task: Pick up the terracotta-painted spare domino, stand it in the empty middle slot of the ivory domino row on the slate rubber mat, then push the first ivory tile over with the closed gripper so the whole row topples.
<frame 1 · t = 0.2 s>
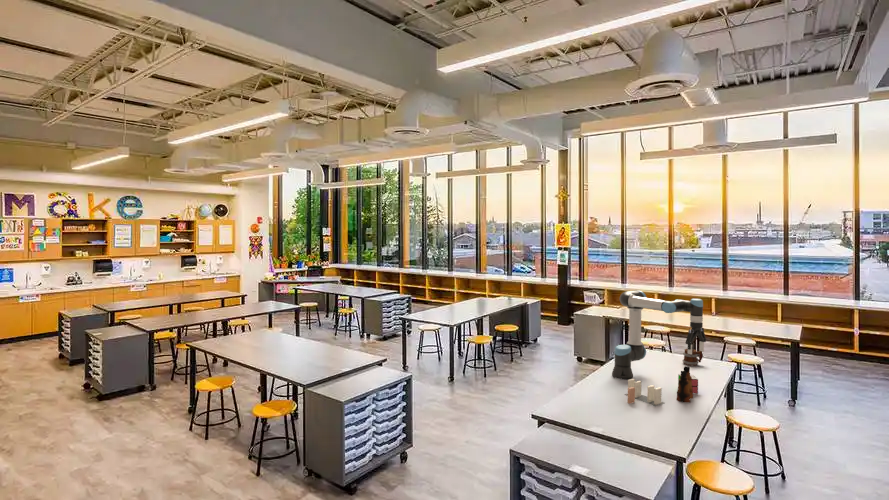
hand: (695, 352, 321), 28 cm above the table, fingers open, 13 cm apart
mug: (692, 364, 389), on the table
mat: (644, 399, 311), on the table
domino 2: (637, 396, 315), resting on mat
domino gap: (631, 403, 304), on the table
puzzle cube: (687, 391, 327), on the table
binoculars: (684, 399, 312), on the table
domino 1: (631, 394, 319), resting on mat
domino 4: (650, 401, 306), resting on mat
domino 5: (657, 403, 302), resting on mat
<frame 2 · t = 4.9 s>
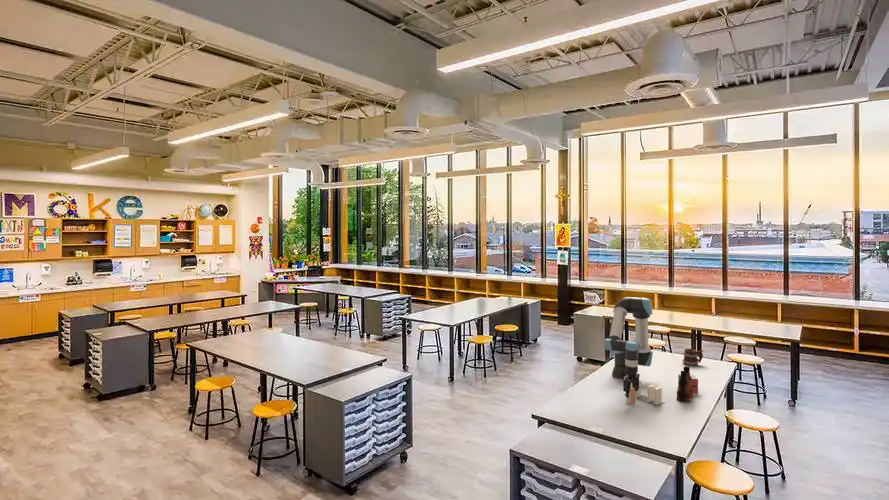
hand: (631, 401, 304), 1 cm above the table, fingers closed on domino gap, 5 cm apart
domino gap: (631, 403, 304), on the table, touching gripper
everything else where it was.
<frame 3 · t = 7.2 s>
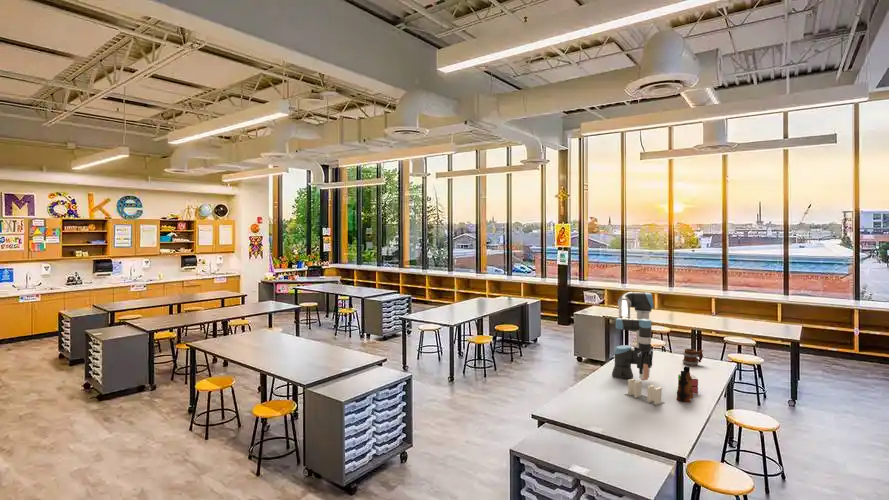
hand: (644, 377, 310), 14 cm above the table, fingers closed on domino gap, 5 cm apart
domino gap: (644, 379, 310), point 13 cm above the table, touching gripper
everything else where it was.
when the fingers open (2 cm above the table, at t = 9.6 s): domino gap stays where it is, resting on mat.
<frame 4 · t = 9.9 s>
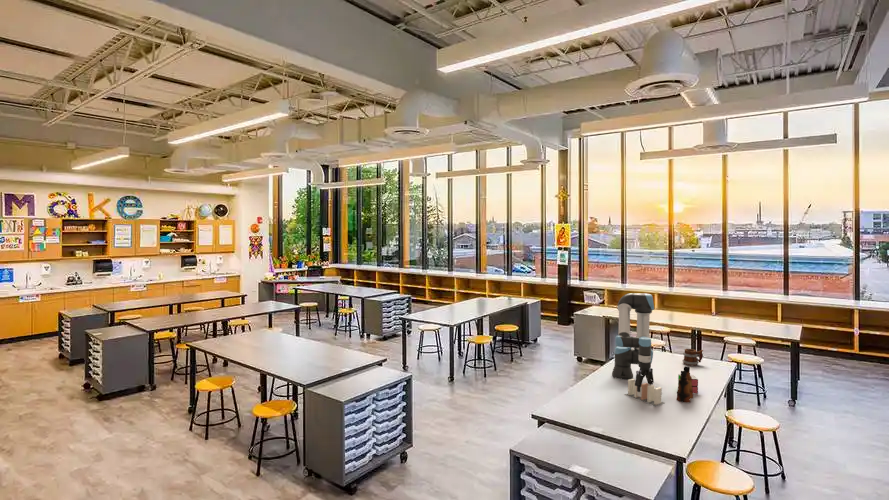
hand: (644, 394, 311), 3 cm above the table, fingers open, 9 cm apart
domino gap: (644, 398, 311), resting on mat
everything else where it was.
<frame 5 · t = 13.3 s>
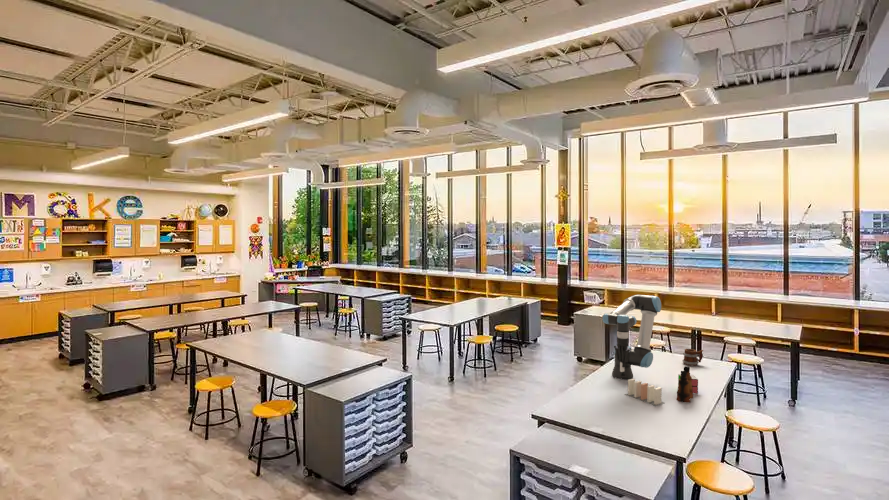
hand: (622, 371, 325), 14 cm above the table, fingers closed
nothing on the table moved.
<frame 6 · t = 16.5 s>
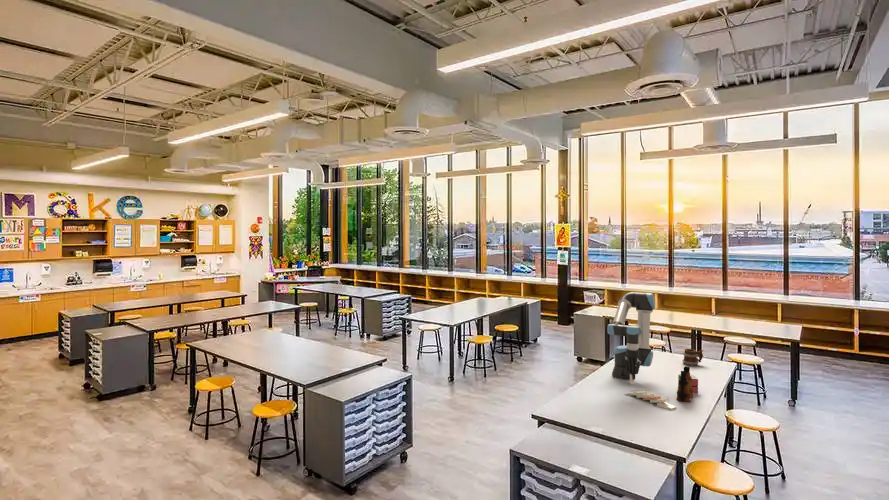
hand: (632, 383, 319), 8 cm above the table, fingers closed
domino 2: (638, 395, 314), point 1 cm above the table, tilted 71°, touching domino 1, domino gap
domino gap: (645, 398, 310), point 1 cm above the table, tilted 72°, touching domino 2, domino 4, mat
domino 1: (632, 393, 318), point 1 cm above the table, tilted 72°, touching domino 2, mat
domino 4: (652, 400, 305), point 1 cm above the table, tilted 72°, touching domino 5, domino gap
domino 5: (659, 402, 301), point 1 cm above the table, tilted 93°, touching domino 4, mat
everything else where it was.
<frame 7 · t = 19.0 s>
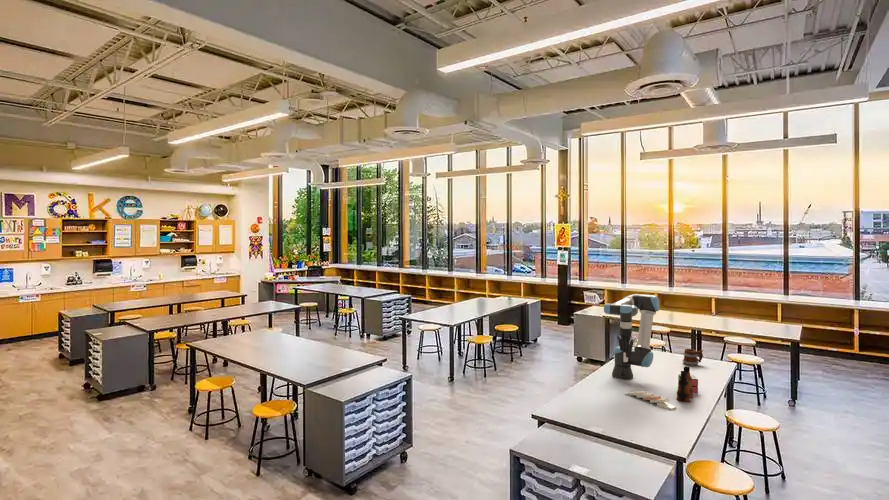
hand: (625, 361, 323), 21 cm above the table, fingers closed
domino 4: (652, 400, 305), point 1 cm above the table, tilted 72°, touching domino 5, domino gap, mat
everything else where it was.
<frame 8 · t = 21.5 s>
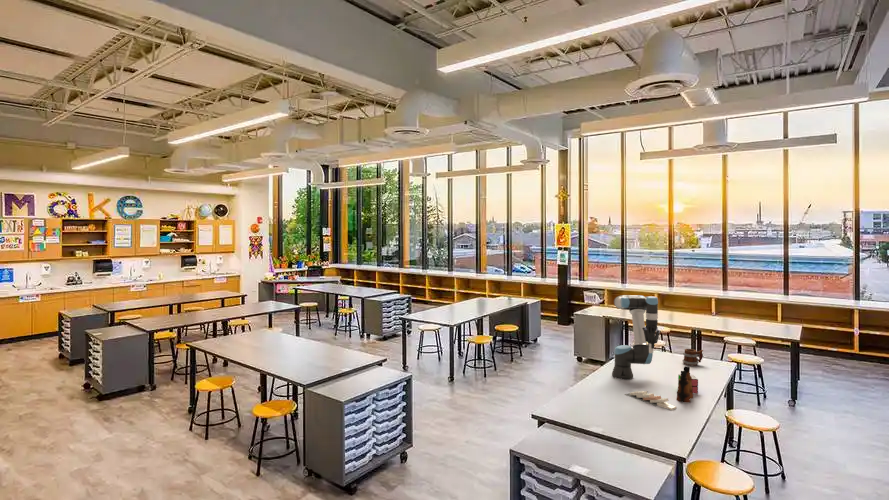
hand: (651, 352, 327), 26 cm above the table, fingers closed
nothing on the table moved.
at the end: domino 5 tilted 93°; domino gap tilted 72°; the gripper is holding nothing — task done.
